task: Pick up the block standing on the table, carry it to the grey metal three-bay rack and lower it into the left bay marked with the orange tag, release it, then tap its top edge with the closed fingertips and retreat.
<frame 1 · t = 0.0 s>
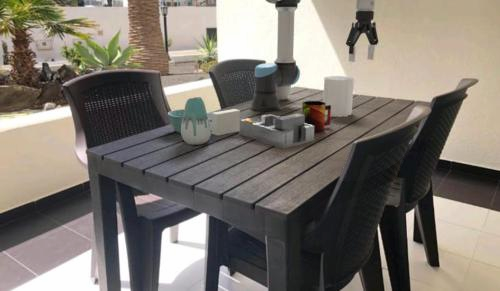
hand: (361, 60, 182), 28 cm above the table, fingers open, 13 cm apart
planter: (276, 99, 243), on the table
rack: (275, 137, 166), on the table
container: (336, 114, 207), on the table
mug: (314, 129, 178), on the table
bowl: (187, 131, 175), on the table
vase: (196, 143, 159), on the table
block: (226, 132, 174), on the table
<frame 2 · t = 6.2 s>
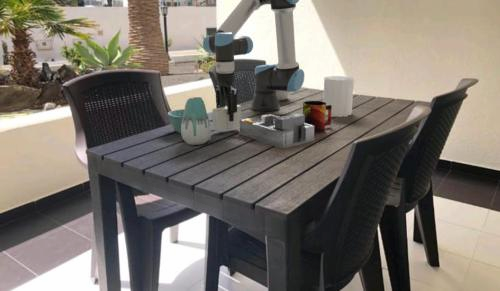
hand: (227, 127, 174), 2 cm above the table, fingers closed on block, 4 cm apart
block: (227, 128, 174), point 2 cm above the table, touching gripper
everything else where it was.
when the fingers open (3 cm above the table, at t = 10.2 s): block drops 1 cm, resting on rack.
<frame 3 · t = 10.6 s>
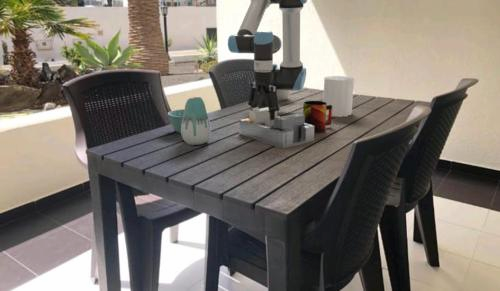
hand: (262, 124, 171), 4 cm above the table, fingers open, 9 cm apart
block: (263, 130, 172), point 1 cm above the table, touching rack
everything else where it was.
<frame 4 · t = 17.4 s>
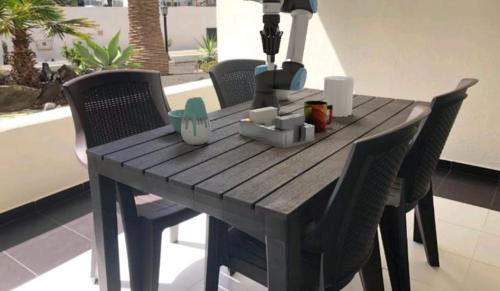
hand: (270, 69, 180), 24 cm above the table, fingers closed
at the end: block 0.3 cm from the target spot on the rack, point 1.1 cm above the rack's base; block tilted 0°; the gripper is holding nothing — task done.
